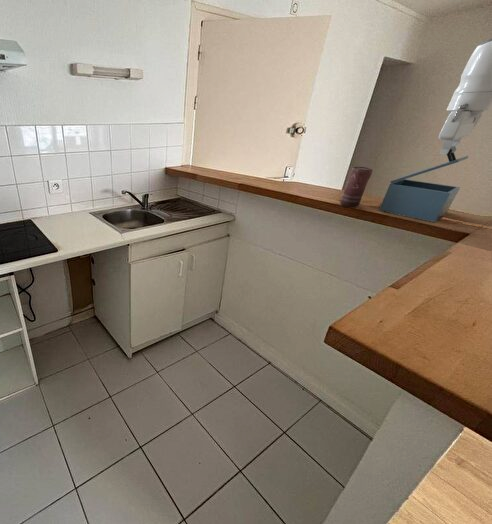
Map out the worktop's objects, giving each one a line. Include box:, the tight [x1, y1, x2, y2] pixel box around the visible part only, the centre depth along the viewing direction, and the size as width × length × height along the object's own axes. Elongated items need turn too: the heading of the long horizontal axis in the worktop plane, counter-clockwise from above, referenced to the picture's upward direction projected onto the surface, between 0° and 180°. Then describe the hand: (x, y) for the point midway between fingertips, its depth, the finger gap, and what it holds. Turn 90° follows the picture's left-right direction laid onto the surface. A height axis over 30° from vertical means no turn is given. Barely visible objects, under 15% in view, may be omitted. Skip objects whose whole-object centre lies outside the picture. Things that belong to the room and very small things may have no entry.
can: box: [339, 166, 373, 208], centre depth 106 cm, size 6×6×14 cm
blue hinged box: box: [378, 178, 461, 223], centre depth 99 cm, size 16×13×10 cm
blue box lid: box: [389, 147, 469, 184], centre depth 95 cm, size 16×13×5 cm
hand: (446, 153), depth 90 cm, fingers closed on blue box lid, 5 cm apart
